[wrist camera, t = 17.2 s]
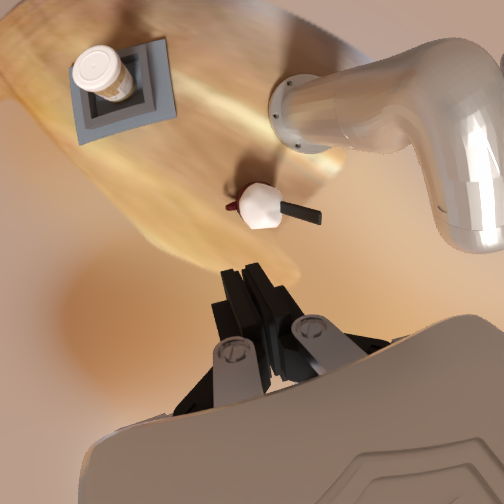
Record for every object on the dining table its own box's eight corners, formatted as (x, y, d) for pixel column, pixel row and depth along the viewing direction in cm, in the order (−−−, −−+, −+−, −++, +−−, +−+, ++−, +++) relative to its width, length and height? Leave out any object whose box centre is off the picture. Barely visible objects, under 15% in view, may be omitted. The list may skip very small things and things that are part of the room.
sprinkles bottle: (100, 100, 29) (63, 85, 17) (113, 70, 28) (83, 40, 16) (129, 108, 31) (105, 93, 19) (142, 77, 29) (125, 47, 17)
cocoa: (220, 211, 41) (231, 242, 30) (233, 170, 39) (249, 186, 28) (278, 226, 44) (307, 259, 33) (292, 188, 42) (327, 211, 31)
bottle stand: (165, 41, 29) (164, 30, 25) (176, 117, 34) (176, 115, 30) (71, 69, 26) (59, 62, 22) (81, 145, 31) (70, 146, 27)
